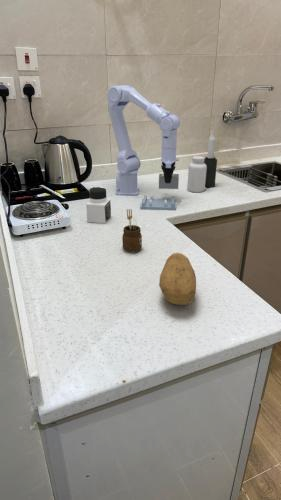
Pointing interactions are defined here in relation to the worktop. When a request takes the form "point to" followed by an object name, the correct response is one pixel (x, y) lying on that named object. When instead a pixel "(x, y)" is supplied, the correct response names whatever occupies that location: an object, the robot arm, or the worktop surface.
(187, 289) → the potato
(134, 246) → the utensil holder
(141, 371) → the worktop surface
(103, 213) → the medicine bottle
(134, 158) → the robot arm
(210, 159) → the candle
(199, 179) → the pill bottle
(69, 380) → the worktop surface
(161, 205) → the tray
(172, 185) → the block
